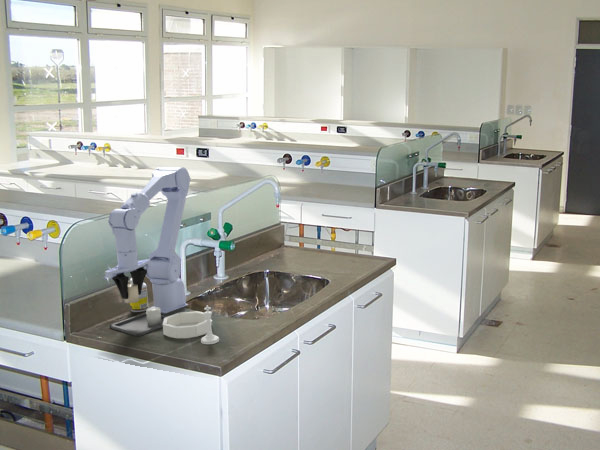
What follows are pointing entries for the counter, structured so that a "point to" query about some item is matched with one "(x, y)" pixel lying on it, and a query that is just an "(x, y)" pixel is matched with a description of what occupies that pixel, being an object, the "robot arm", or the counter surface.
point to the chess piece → (209, 329)
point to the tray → (136, 325)
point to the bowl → (185, 325)
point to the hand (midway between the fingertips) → (131, 296)
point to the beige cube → (132, 293)
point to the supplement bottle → (140, 300)
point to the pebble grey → (153, 316)
